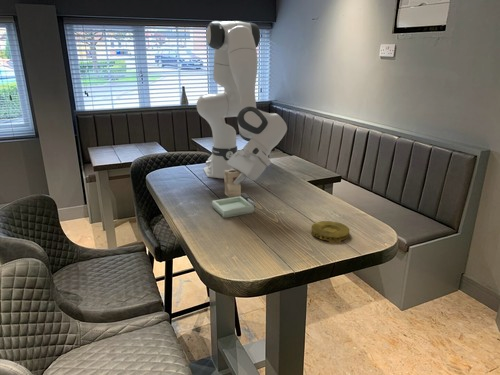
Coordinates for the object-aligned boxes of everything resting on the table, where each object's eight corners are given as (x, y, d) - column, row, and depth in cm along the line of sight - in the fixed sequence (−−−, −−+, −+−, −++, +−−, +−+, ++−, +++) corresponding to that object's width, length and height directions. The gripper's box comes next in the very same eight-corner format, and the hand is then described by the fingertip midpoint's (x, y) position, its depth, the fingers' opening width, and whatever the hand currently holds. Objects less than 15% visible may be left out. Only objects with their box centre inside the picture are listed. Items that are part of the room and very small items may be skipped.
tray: (212, 206, 144) (212, 200, 143) (240, 202, 149) (240, 196, 148) (224, 218, 133) (223, 211, 133) (254, 212, 138) (254, 206, 138)
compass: (336, 246, 113) (336, 240, 113) (303, 235, 121) (304, 228, 120) (355, 234, 122) (356, 228, 121) (324, 224, 129) (324, 218, 129)
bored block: (224, 193, 140) (224, 170, 137) (235, 192, 142) (235, 168, 139) (229, 197, 136) (229, 173, 133) (240, 195, 138) (240, 171, 135)
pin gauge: (240, 197, 154) (240, 193, 153) (244, 197, 154) (244, 193, 154) (252, 206, 144) (252, 202, 144) (256, 206, 145) (256, 201, 144)
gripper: (237, 142, 145) (215, 169, 144) (262, 152, 128) (236, 183, 127) (248, 152, 149) (226, 179, 148) (273, 164, 131) (248, 194, 130)
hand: (231, 181), depth 137 cm, fingers closed on bored block, 5 cm apart
